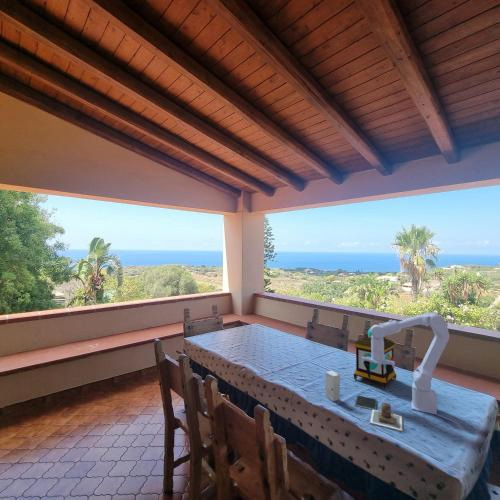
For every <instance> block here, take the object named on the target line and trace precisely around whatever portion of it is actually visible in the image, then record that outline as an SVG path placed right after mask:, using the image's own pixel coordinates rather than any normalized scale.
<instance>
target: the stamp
mask: <svg viewBox="0 0 500 500" xmlns="http://www.w3.org/2000/svg"><path fill="white" fill-rule="evenodd" d="M380 405H381V407H380V408H381V409H380V410H377V411H378V418H379V422H384V423H389V424H394V425H395V419H394V414H395V413H392V409H391V408H392V405H391V404H390V403H388V402H382V403H381V404H380ZM381 411H382V412H381Z"/></svg>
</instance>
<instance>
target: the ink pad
mask: <svg viewBox="0 0 500 500" xmlns="http://www.w3.org/2000/svg"><path fill="white" fill-rule="evenodd" d="M377 404H378V400H376V398H371V397H367V396H366V397H365V396H361V395H357V396H356V399H355V403H354V406H355V407H359V408H363V409H368V410H371V411H372V409H373V410H377Z"/></svg>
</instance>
